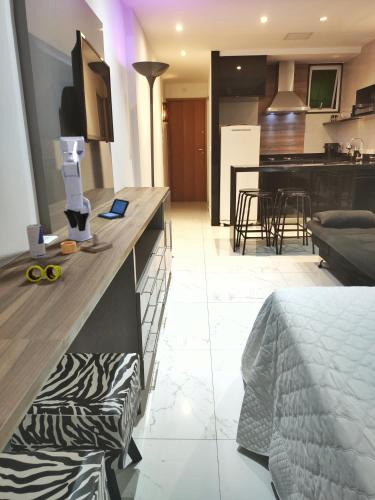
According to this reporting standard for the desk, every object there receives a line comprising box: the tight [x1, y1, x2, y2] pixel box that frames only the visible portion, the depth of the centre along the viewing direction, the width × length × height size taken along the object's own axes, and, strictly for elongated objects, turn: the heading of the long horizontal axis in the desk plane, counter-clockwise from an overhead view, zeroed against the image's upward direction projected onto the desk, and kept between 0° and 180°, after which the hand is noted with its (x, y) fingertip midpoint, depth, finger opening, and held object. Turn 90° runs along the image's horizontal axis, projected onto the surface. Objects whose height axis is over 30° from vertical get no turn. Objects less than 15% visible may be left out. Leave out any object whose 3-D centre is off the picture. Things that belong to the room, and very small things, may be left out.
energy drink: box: [26, 223, 47, 259], centre depth 136 cm, size 5×5×12 cm
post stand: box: [79, 233, 114, 253], centre depth 146 cm, size 9×9×6 cm
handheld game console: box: [97, 198, 130, 220], centre depth 212 cm, size 16×13×9 cm
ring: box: [60, 240, 78, 255], centre depth 143 cm, size 6×6×4 cm
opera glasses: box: [26, 264, 63, 283], centre depth 114 cm, size 10×5×5 cm, turn 94°
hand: (78, 229), depth 142 cm, fingers open, 7 cm apart
